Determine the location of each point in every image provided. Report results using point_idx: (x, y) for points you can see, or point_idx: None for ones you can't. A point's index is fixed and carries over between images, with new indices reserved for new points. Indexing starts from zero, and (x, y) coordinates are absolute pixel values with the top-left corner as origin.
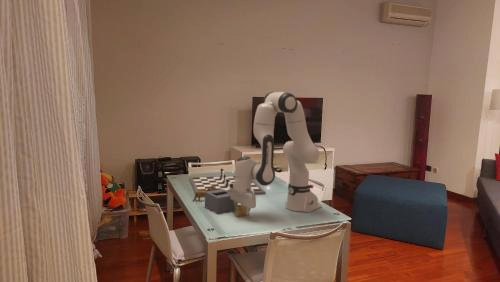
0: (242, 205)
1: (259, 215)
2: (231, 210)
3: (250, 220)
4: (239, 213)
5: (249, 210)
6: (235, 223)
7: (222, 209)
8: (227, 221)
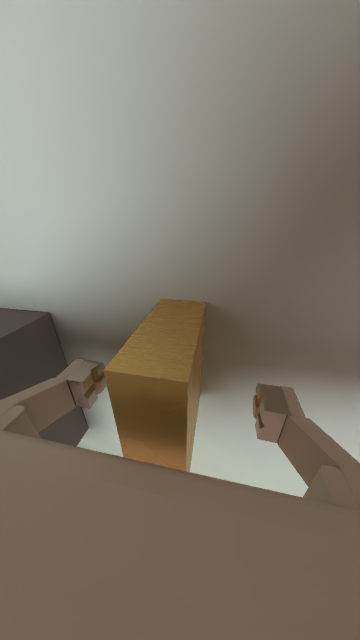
0: (164, 455)
1: (300, 188)
2: (57, 350)
3: (324, 373)
4: (196, 412)
5: (322, 437)
6: (276, 462)
7: (63, 426)
8: (216, 463)
